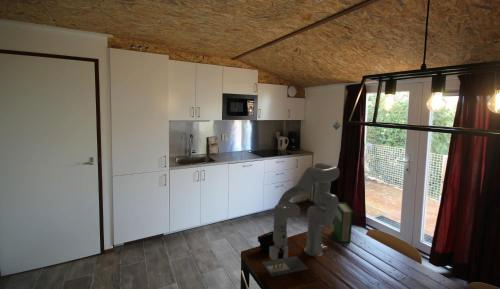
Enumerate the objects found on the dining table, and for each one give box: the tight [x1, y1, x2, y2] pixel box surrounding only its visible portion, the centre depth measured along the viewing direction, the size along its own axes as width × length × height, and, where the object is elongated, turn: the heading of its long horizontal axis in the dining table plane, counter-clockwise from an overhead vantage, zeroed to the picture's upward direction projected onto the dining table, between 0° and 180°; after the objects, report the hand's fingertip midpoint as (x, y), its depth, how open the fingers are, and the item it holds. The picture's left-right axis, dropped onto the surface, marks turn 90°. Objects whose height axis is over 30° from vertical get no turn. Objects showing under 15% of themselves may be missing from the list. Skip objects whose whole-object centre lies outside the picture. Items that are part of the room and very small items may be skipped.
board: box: [261, 255, 309, 277], centre depth 152 cm, size 24×14×5 cm, turn 110°
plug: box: [268, 244, 297, 261], centre depth 149 cm, size 16×4×6 cm, turn 110°
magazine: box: [257, 230, 274, 254], centre depth 166 cm, size 4×13×15 cm, turn 87°
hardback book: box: [333, 201, 354, 244], centre depth 191 cm, size 18×7×24 cm, turn 176°
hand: (278, 255), depth 148 cm, fingers closed on plug, 4 cm apart
